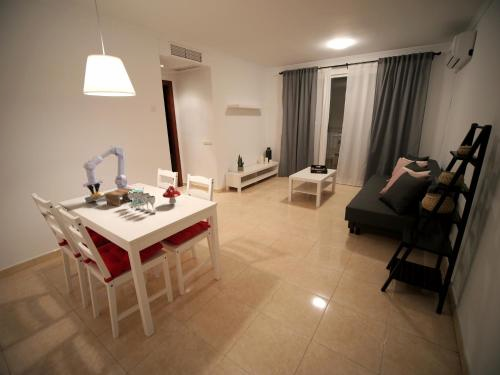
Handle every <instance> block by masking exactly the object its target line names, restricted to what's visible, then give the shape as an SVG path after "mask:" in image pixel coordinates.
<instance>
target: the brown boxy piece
mask: <svg viewBox="0 0 500 375" xmlns="http://www.w3.org/2000/svg"><path fill="white" fill-rule="evenodd" d="M132 190H135V191H136V189H133V188H130V189H127V188H121V189H118V188H117V189H115V190H112V191H109V192H105V193H104V194H103V195H105V197H104V198H105V200H106V205H108V206H113V207H121V206H122V205H121V196H120V195H122V200H126V201H131V200H130V199H129V198H128V192H129V191H132Z"/></svg>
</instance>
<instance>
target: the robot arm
mask: <svg viewBox="0 0 500 375" xmlns="http://www.w3.org/2000/svg"><path fill="white" fill-rule="evenodd" d="M110 155H115V156H116V157H117V175H116V176H115V180H114V183H115V185H116V187H117V190H118V189H121V188H127V189H131V187H130V185H129V184H128V180H127V177H126V175H125V174H126V173H125V172H126V171H125V170H126V155H125V153H124V149H123V147H121V146H113V145H112V146H110V147H108V148H107V149H106V150H105V151H104V152H102V153H101V154H100V155H95V156H93V157H92V159H89V160H88V161H86V162H84V163H83V166H82V167H83V168H84V170H85V172H86V178H87V182H86V183H83V184H82V187H84V188H87V189H88V190H89V191H90V194H94V193H96V192H99V190H100V186H101V183H103V180H101V179H100V180H97V179H98V178H97V176H96V171H95V169H96V167H97V166H98V165H99V164H101V163H102V162H103V159H105V158H106V157H108V156H110ZM119 197H120V198H121V197H122V195H120V196H119Z"/></svg>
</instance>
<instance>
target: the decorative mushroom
mask: <svg viewBox="0 0 500 375" xmlns="http://www.w3.org/2000/svg"><path fill="white" fill-rule="evenodd" d="M181 195H182V194H181V193H180V191H179V190H178V189H176V188H175V186H172V185H170V186H168V187H167V189H166V190H165V192H163V194H162V197H163V198H166V199H169V200H168V203H169V204H170V205H174V204H176V203H177V200H176V198H178V197H179V196H181Z"/></svg>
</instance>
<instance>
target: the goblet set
mask: <svg viewBox="0 0 500 375" xmlns="http://www.w3.org/2000/svg"><path fill="white" fill-rule="evenodd" d="M128 198H129V199H131V200H132V201H131V200H130V201H131V202H132V206H131V207H130V209H135V210H140V211H144V212H145V213H150V214H155V213H157V210H154V204H155V202H156V196H155V195H150V193H149V192H148V193H147V192H145V193H144V192H142V191H141V192H139V191H135V192H129V193H128ZM134 199H136V201H135V202H136V203H137V205H134V201H133V200H134ZM139 201H140V202H141V206H142V207H144V203H146V207H147V208H148V209H147V208H142V207H141V206H138V205H139ZM149 204H150V205H151V207H152V209H149Z"/></svg>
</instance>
